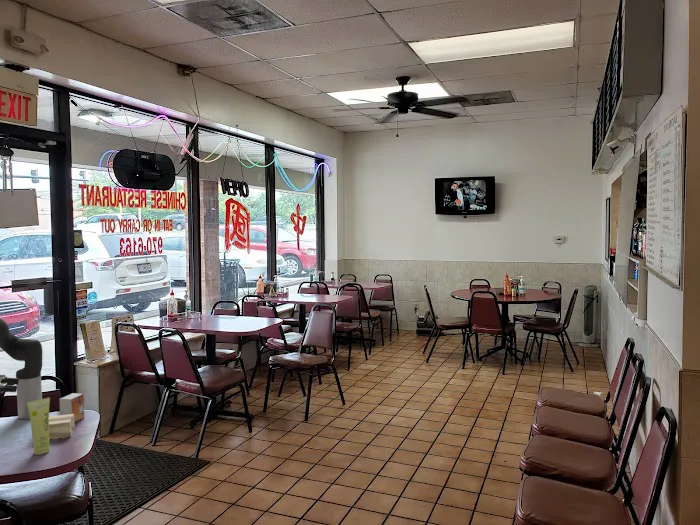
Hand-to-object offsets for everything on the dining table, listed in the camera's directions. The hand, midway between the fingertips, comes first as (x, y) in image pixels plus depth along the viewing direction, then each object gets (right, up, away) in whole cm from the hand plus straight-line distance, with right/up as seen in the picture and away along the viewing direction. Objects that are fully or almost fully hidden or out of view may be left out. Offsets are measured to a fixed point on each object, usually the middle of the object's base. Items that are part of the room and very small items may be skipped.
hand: (17, 385), depth 203 cm
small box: (+3, -22, +34) cm, 41 cm away
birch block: (+4, -23, +19) cm, 30 cm away
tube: (+7, -25, +2) cm, 26 cm away
